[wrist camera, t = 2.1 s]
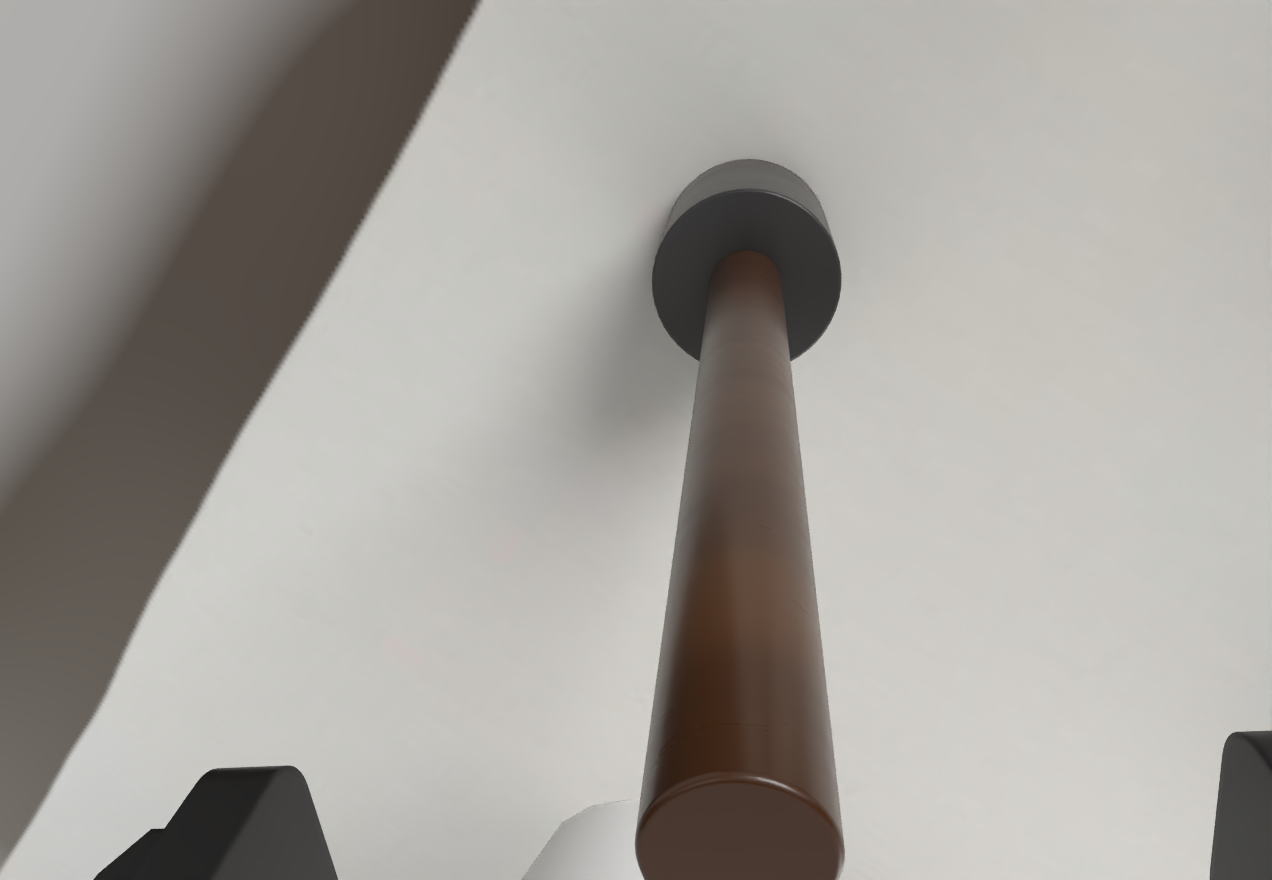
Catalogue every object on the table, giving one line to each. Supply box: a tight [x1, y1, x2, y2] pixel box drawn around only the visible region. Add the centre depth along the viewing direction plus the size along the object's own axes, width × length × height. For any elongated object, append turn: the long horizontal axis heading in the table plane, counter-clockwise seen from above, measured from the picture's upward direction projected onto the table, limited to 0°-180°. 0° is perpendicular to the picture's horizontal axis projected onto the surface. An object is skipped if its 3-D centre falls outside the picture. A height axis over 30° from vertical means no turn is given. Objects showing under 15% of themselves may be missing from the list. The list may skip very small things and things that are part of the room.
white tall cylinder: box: [522, 799, 644, 880], centre depth 27 cm, size 7×7×21 cm
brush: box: [635, 159, 845, 880], centre depth 20 cm, size 5×5×24 cm
